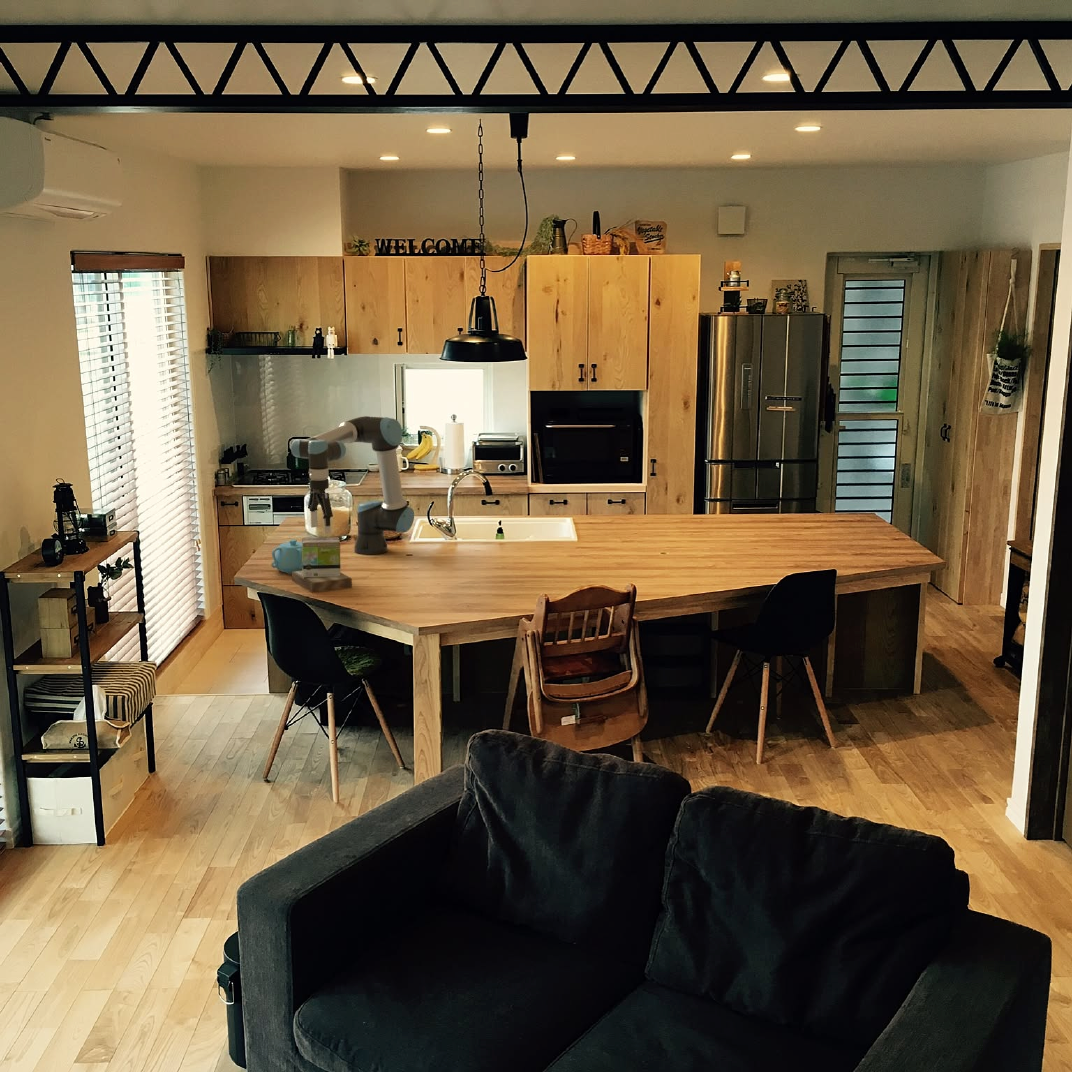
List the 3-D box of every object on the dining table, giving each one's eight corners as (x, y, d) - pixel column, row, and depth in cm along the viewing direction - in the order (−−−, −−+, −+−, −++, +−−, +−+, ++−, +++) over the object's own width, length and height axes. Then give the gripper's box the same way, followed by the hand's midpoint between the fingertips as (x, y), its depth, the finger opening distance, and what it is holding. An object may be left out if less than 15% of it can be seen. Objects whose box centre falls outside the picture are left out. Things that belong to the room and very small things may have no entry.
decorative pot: (302, 577, 476) (301, 545, 473) (267, 574, 481) (266, 542, 478) (319, 568, 492) (319, 537, 489) (286, 565, 496) (285, 534, 493)
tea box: (303, 578, 458) (302, 542, 455) (302, 572, 468) (301, 537, 465) (341, 577, 462) (340, 541, 459) (339, 571, 471) (338, 536, 468)
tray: (330, 575, 479) (330, 566, 479) (351, 587, 461) (351, 578, 460) (292, 580, 470) (291, 571, 470) (312, 593, 452) (311, 583, 451)
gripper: (298, 474, 465) (300, 525, 470) (322, 484, 444) (324, 537, 449) (316, 473, 469) (317, 523, 474) (340, 482, 448) (341, 535, 453)
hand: (320, 530), depth 461 cm, fingers open, 13 cm apart
